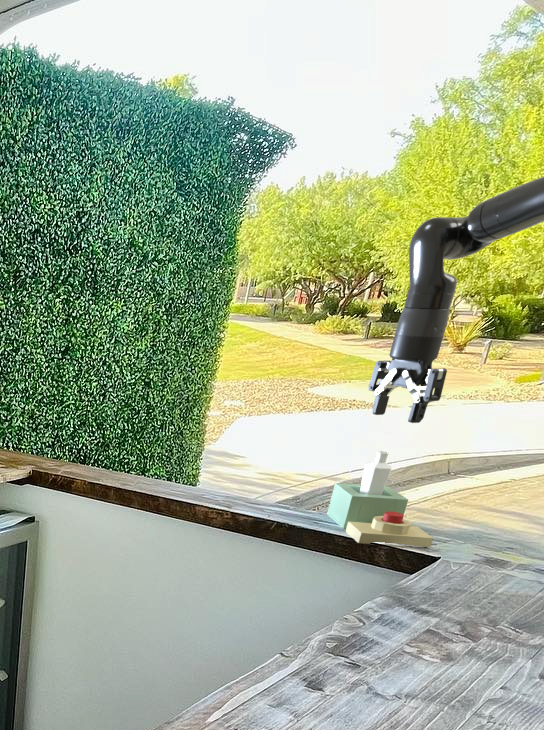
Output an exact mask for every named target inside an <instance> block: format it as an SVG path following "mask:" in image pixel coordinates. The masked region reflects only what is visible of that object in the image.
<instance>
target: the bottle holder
mask: <svg viewBox="0 0 544 730" xmlns="http://www.w3.org/2000/svg"><path fill="white" fill-rule="evenodd" d="M360 487H361V483H360V484H357V483H343V482H342V483H341V482H335V483H334V486H333V491H332V493H331V497H330V502H329V505H328V509H327V513H326V515H327V516H328V517H329V518H330V519H331V520H332V521H334V522H335V523H336V524H337V525H338V526H339V527H340V528H341V529H343V530H346V528H347V525H348V522H363V523H372V521H373V518H374V517H376V516H384V514H385V512H397V513H401V514H403V515H404V516H405V512H406V508H407V505H408V503H409V499H408V498H407V497H405V496H403V495H402V494H400V493H399V492H398V491H396V490H394V489H393V488H391V487H390V486H388V485H385V488H384V490H383V493H382V495H367V494H359V492H360Z"/></svg>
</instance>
